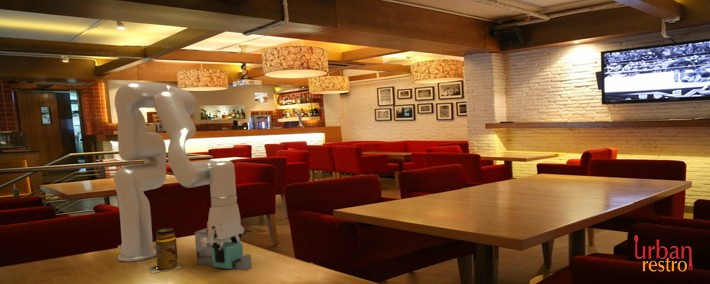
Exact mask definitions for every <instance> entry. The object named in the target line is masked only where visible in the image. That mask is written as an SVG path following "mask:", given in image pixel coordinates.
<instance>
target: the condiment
mask: <svg viewBox="0 0 710 284" xmlns="http://www.w3.org/2000/svg"><path fill="white" fill-rule="evenodd" d="M155 233H156V234H155V235H156V239H155V249H156V254H157V255H156V263H157V264H156V265H151V266H148V269H149V271H150V270H151V271H150V272H151V273H152V274H155V273H160V272H162V271H160V270H164V271H163V272H165V271H171V270H177V269H180V268H182V267H181V265H180V264H178V263H179V262H178V257H179V255H178V248H177V238H176V236H175V235H176V234H175V229H174V228H173V227H172V228H170V227H165V228H161V229H158V230H157V231H156V232H155ZM156 267H157V268H158V269H156ZM154 269H155V270H154ZM170 269H171V270H170ZM156 270H158V271H156Z"/></svg>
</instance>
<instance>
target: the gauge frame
mask: <svg viewBox="0 0 710 284" xmlns="http://www.w3.org/2000/svg"><path fill="white" fill-rule="evenodd" d="M208 236H209V234H208V229H207V227H206V228H203V229H199V230H196V231H194V238H195V253H196V254H195V255H196V256H197V251H200V250H203V249H206V250H207V256H212V248H211V246H210V245H209V244H208V243H207V242H206V240H207V238H208ZM224 242H231V240H230V238H228V239H226V240H224ZM218 244H219V241H218Z"/></svg>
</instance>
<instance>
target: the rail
mask: <svg viewBox="0 0 710 284" xmlns="http://www.w3.org/2000/svg"><path fill="white" fill-rule="evenodd" d="M251 256H252V255H251V254H250V253H247V254H243V256H242V257H241V260H239V259H238V260H235V261H233V262H232V266H233V268H232V269H231V270H240V271H246V270H248V269H251V268H252V257H251ZM196 260H197V263H196V264H197V265H202V266H203V265H204V266H210V267H213V261H212V256H207V250H206V249H203V250H200V251H197V255H196Z"/></svg>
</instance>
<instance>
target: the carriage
mask: <svg viewBox="0 0 710 284" xmlns="http://www.w3.org/2000/svg"><path fill="white" fill-rule="evenodd" d="M218 245H219V244H218ZM211 248H212V247H211ZM243 249H244V248H243V243H242V242H240V243H234V242H231V241H230V242H223V247H222V250H224V263H218V262H215V250H213V248H212V261H213V266H212V267H213V268H220V269H228V270H233V269H232V268H233V266H232V262H233V261H235V260H238V259H239V260H241V257H242V256H244V251H243Z"/></svg>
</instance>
